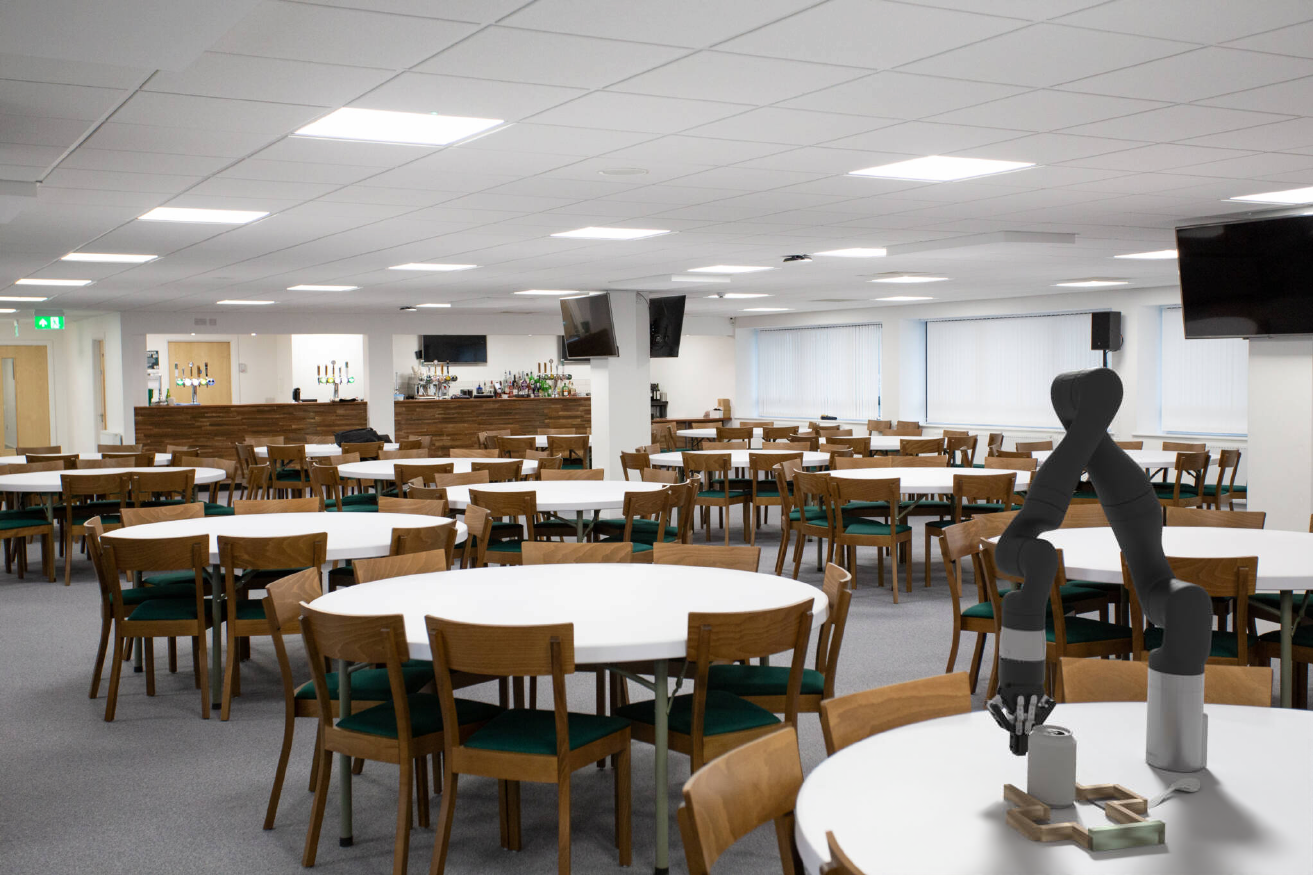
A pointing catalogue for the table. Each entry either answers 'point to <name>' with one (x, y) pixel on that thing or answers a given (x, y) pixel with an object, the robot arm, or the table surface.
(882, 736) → the table surface
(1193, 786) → the spoon
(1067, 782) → the can
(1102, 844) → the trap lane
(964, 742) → the table surface
